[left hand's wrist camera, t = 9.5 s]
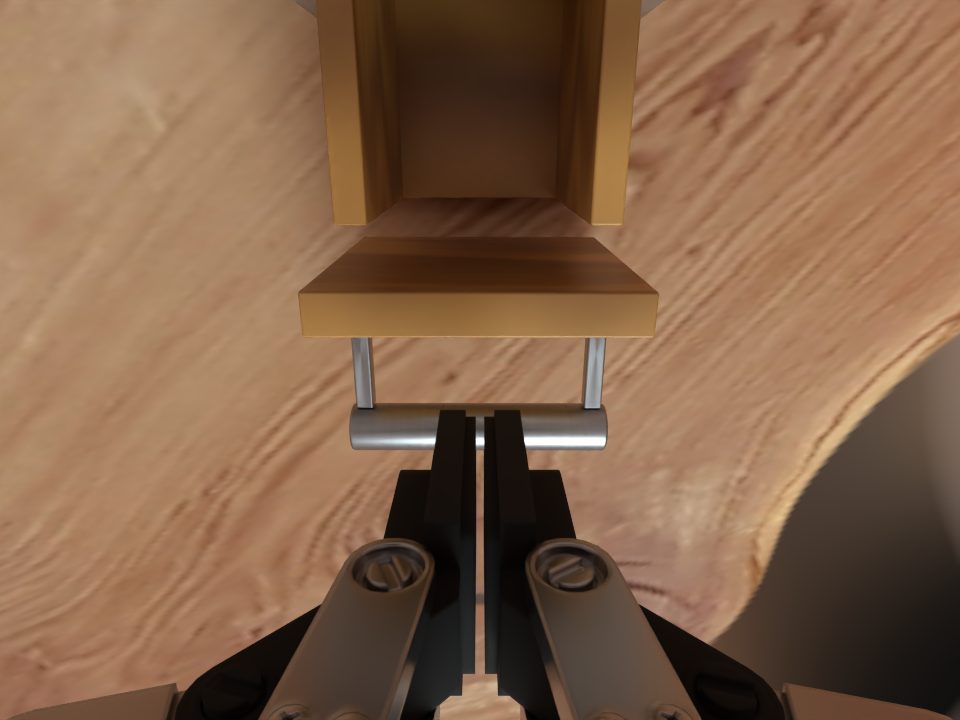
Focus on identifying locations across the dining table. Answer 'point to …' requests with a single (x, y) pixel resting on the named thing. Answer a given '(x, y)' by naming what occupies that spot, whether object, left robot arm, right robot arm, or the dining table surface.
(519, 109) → the drawer
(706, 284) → the dining table surface
